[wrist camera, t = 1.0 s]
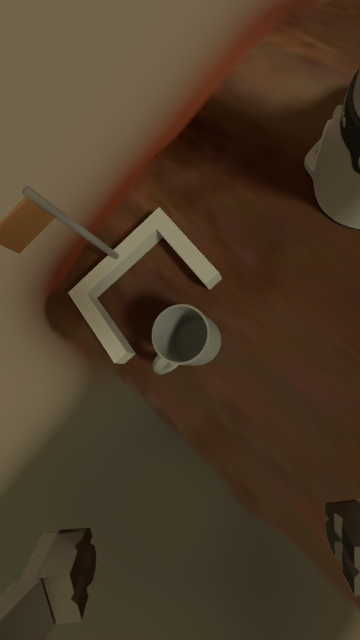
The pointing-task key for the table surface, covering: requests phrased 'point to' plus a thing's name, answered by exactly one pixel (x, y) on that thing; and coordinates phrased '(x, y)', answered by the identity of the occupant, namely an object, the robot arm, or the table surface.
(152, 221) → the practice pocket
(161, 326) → the cup
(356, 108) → the robot arm
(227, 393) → the table surface
